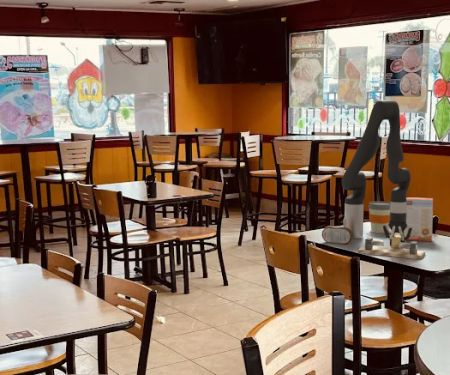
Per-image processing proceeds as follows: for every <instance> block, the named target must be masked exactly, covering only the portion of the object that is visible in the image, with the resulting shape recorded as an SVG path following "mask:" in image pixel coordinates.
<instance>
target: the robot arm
mask: <svg viewBox="0 0 450 375" xmlns="http://www.w3.org/2000/svg"><path fill="white" fill-rule="evenodd" d="M400 116H401V114H400V106H399V103H398V102H397V101H396V100H394V99H380V100H377V101H375V102H374V105H373V106H372V109H371V112H370V115H369V118H368V122H367V124H366V127H365V129H364V132H363V134H362V137H361V139H360V140H359V143H358V145H357V147H356V151H355V153H354V155H353V157H352V159H351V160H350V162H349V164H348V166H347V168H346V170H345V172H343V176H342V179H341V187H342V188H343V189H344V190H346V191H352V192H351V193H350V194H349V195H348V196H346V197H345V199H344V218H343V219H342V220H343V221H342V223H343V225H342V227H347V228H349V229H350V230H351V231H352V233H353V239H352V240H354V239H355V240H357V239H363V238H364V202H365V199H366V192H367V191H366V190H367V178H366V175H365V173H364V172H363V171H362V169H363V168H364V167H365V166H366V165H367V164H368V163H369V162H371V161H372V160H373V159H374V157H375V156H376V154H377V152H378V149H379V147H380V144H381V142H380V141H381V140H380V134H379V129H380V128H381V125H382V122H383V121H388V124H389V131H388V132H389V133H388V136H387V140H386V144H385V145H386V146H385V149H386V156H387V160H388V163H387V174H386V175H387V179H388V181H389V182H390V183H391V184H393V185H396V187H394V188H393V189H391V192H390V202H391V204H390V222H389V224H388V225H384V226H383V229H384V232H385V233H384V235H385V238H387V239H388V240H389V246H390V248H392V237H393V236H394V235H395V234H399V236H401V239H402V240H401V242H403V243H406V241H408V240H407V239H409V237H410V234H411V232H412V229H413V227H409V226H407V223H406V216H407V204H406V197H407V196H408V190H409V186H410V183H411V178H412V177H411V176H412V175H411V171H410V170H409V169H408V168H407V167H400V168H399V166H400V163H403V162H404V160H405V156H404V152H403V151H404V150H403V147H402V139H401V138H402V137H401V117H400ZM388 227H389V230H391V232H388ZM406 228H407V231H408V233H407V235H406V237H405V235H404V230H405V229H406Z"/></svg>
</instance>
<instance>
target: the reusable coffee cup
mask: <svg viewBox="0 0 450 375" xmlns="http://www.w3.org/2000/svg"><path fill="white" fill-rule="evenodd" d="M390 204H391V201H381V200H380V201H378V200H377V201H370V202H368V210H369V212H368V218H369V220H368V221H369V222H370V230H371V231H370V232H373V233H376V234H377V233H378V234H379V233H381V234H385V232H384V229H383V226H384V225H388V224H389V222H390ZM389 231H390V227H388V232H389ZM389 233H390V232H389Z"/></svg>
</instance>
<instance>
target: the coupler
mask: <svg viewBox="0 0 450 375" xmlns="http://www.w3.org/2000/svg"><path fill="white" fill-rule="evenodd" d="M401 240H402V239H401V236H400V235H398V234H396V235H395V234H394V236H393V237H392V247H391V248H395V249H404V248H400V247H399V243H400V242H401Z"/></svg>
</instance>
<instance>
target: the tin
mask: <svg viewBox="0 0 450 375" xmlns="http://www.w3.org/2000/svg"><path fill="white" fill-rule="evenodd" d="M321 237H322V239H323V240H324V242H325V243H327V244H335V245H348V244H350V242H352V240H354V239H353V233H352V231H351V230H350V229H349V228H347V227H343V226H338V225H327V226H325V227H324V228H323V229H322V232H321Z"/></svg>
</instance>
